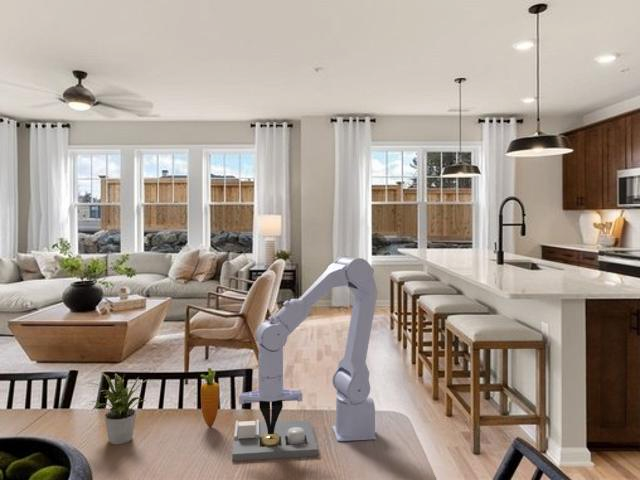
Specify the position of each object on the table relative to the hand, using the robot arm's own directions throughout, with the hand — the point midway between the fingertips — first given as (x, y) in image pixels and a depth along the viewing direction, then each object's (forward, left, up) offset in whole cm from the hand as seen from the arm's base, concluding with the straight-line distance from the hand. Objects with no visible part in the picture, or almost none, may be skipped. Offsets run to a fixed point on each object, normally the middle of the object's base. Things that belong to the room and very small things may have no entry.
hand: (270, 432), depth 109 cm
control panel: (-1, -3, -4) cm, 5 cm away
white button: (-6, 0, -3) cm, 6 cm away
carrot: (+15, -13, -4) cm, 20 cm away
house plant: (+37, -9, -4) cm, 38 cm away
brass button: (0, 0, -3) cm, 3 cm away
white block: (+6, -3, -2) cm, 7 cm away
